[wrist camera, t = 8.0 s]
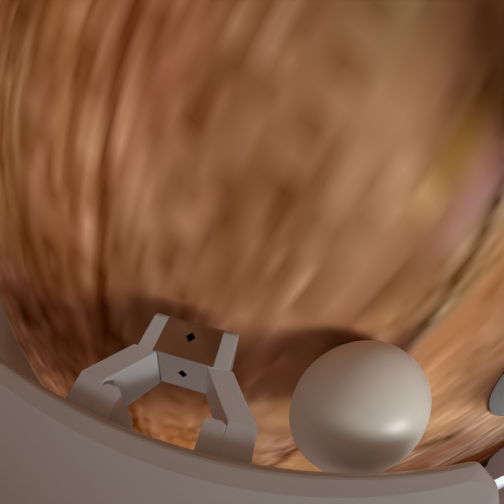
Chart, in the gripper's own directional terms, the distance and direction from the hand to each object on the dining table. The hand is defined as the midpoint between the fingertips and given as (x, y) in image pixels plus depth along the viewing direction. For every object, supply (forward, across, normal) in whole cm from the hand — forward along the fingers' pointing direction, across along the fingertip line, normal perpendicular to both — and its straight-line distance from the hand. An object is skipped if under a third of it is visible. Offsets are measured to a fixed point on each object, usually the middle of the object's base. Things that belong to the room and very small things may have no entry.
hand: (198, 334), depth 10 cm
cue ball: (-1, -6, +1) cm, 7 cm away
